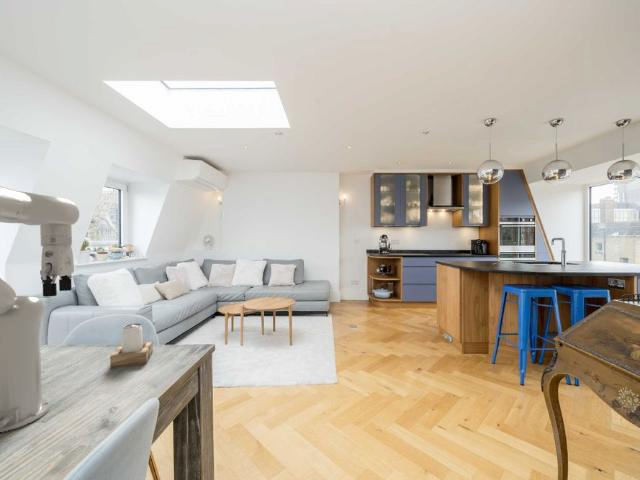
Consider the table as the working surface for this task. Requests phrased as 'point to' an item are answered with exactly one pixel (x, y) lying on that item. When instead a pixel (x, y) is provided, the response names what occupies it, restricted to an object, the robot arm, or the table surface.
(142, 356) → the socket block
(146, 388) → the table surface
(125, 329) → the can
